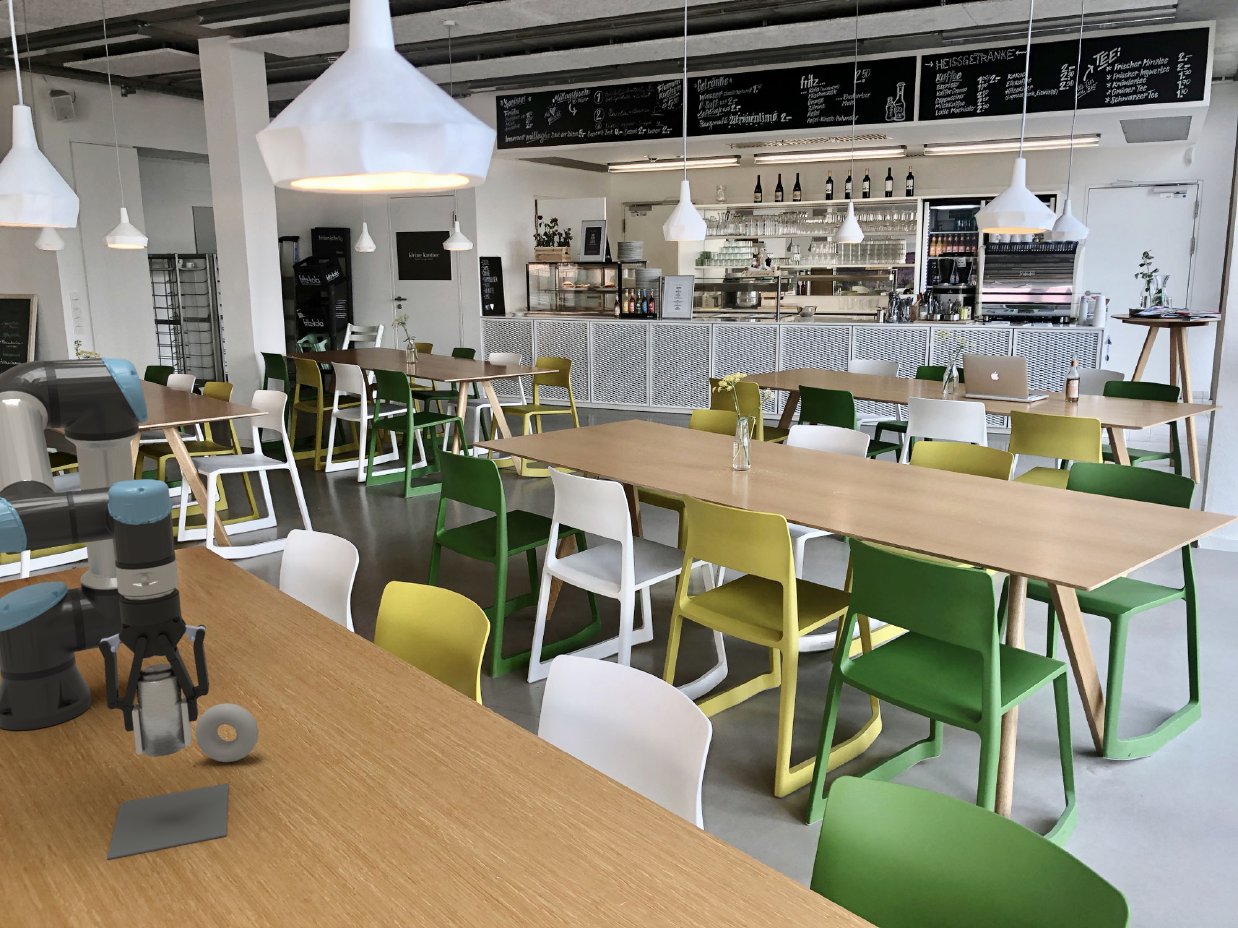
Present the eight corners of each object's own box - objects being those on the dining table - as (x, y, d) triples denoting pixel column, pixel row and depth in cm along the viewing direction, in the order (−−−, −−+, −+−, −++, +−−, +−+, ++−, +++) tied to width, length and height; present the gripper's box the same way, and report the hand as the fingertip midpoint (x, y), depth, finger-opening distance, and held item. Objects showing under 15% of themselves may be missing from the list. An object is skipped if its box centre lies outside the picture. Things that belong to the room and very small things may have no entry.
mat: (120, 803, 139) (120, 802, 139) (228, 784, 144) (228, 782, 144) (106, 859, 125) (106, 858, 125) (226, 836, 131) (226, 834, 131)
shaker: (145, 741, 134) (137, 665, 132) (187, 734, 136) (180, 659, 134) (141, 759, 129) (132, 680, 127) (185, 752, 131) (177, 674, 129)
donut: (263, 754, 154) (259, 698, 152) (256, 765, 150) (251, 708, 148) (203, 756, 153) (197, 699, 151) (194, 766, 150) (188, 709, 148)
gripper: (67, 608, 122) (87, 770, 126) (220, 591, 128) (234, 745, 133) (77, 591, 128) (95, 745, 133) (222, 576, 135) (234, 723, 139)
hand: (164, 745), depth 133 cm, fingers closed on shaker, 6 cm apart
